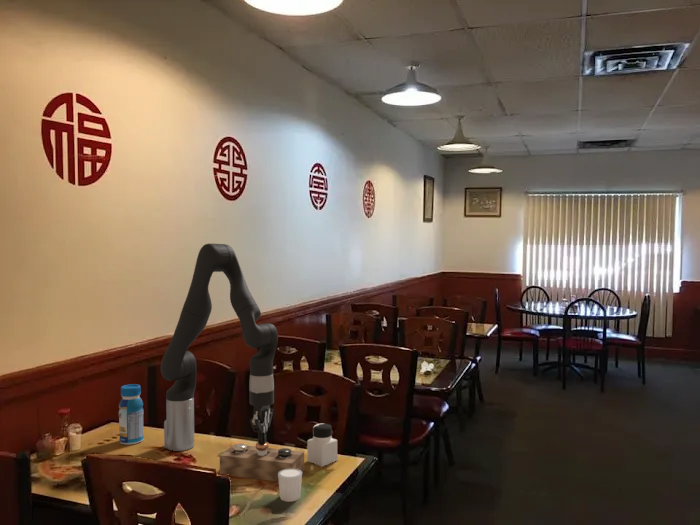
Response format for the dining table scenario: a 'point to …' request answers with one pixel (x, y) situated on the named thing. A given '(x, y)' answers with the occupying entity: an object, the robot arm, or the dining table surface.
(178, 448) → the robot arm
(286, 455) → the grey capped glass jar
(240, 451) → the cream plunger
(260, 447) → the copper-capped glass cylinder
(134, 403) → the beverage bottle
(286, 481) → the white cup
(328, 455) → the medicine bottle
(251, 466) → the walnut block
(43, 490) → the dining table surface
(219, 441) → the dining table surface
